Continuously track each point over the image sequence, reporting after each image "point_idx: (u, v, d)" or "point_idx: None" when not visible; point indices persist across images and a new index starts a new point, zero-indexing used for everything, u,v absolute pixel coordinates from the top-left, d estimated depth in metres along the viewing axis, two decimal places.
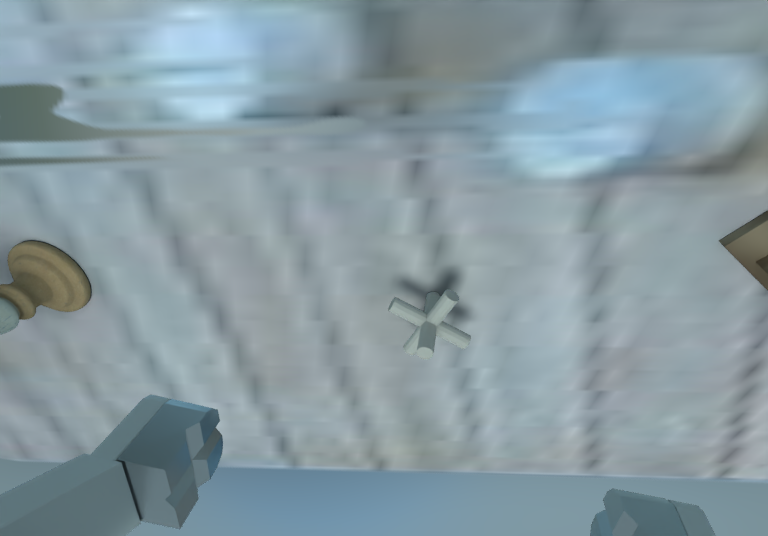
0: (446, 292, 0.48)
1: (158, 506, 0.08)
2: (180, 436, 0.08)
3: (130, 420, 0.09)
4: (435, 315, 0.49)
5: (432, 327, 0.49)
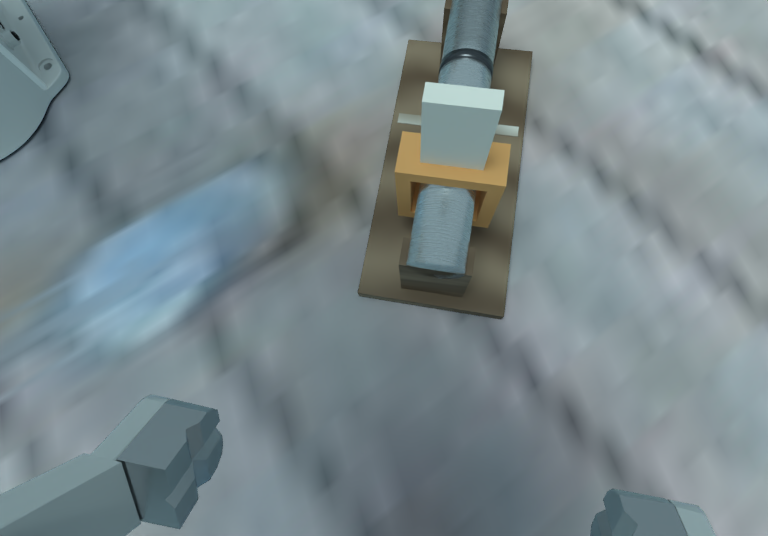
0: None
1: (157, 507, 0.08)
2: (180, 436, 0.08)
3: (130, 420, 0.09)
4: None
5: None
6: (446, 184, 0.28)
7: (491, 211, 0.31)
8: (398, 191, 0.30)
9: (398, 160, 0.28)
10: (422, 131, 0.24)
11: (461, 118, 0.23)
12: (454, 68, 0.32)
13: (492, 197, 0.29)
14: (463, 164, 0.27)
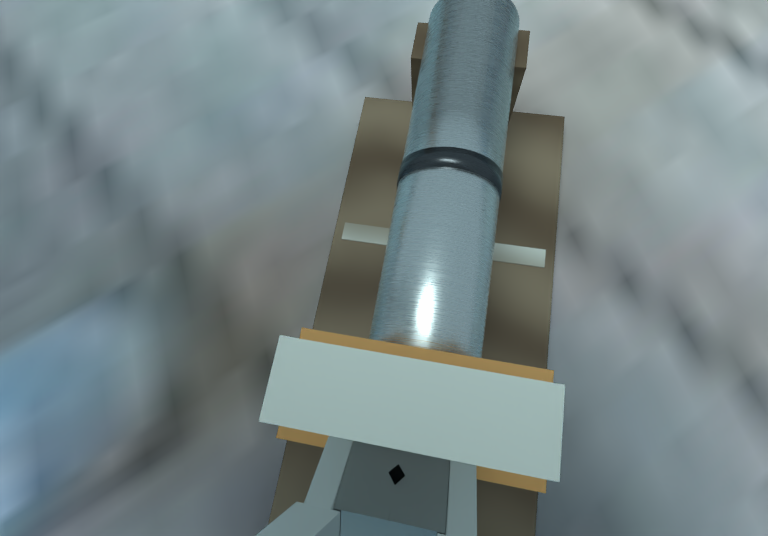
0: None
1: None
2: (386, 480, 0.08)
3: (327, 462, 0.08)
4: None
5: None
6: None
7: None
8: None
9: None
10: None
11: None
12: (423, 188, 0.15)
13: None
14: None
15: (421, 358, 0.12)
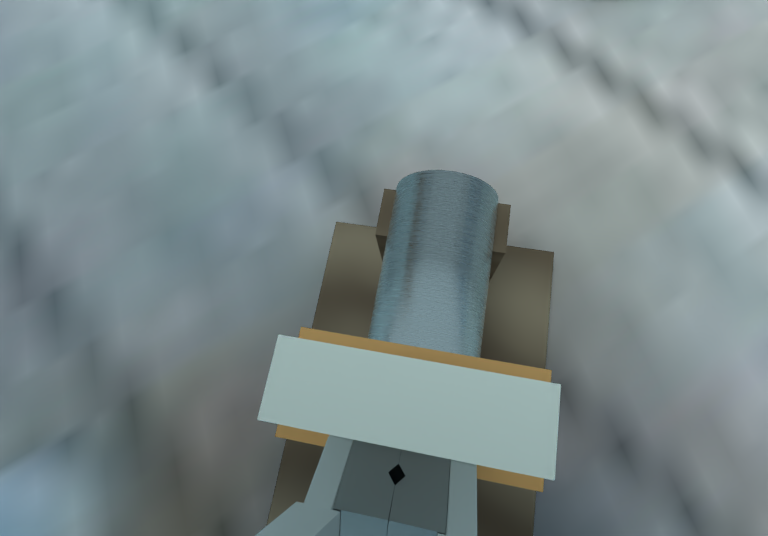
0: None
1: None
2: (385, 480, 0.08)
3: (327, 462, 0.08)
4: None
5: None
6: None
7: None
8: None
9: None
10: None
11: None
12: None
13: None
14: None
15: (419, 357, 0.12)
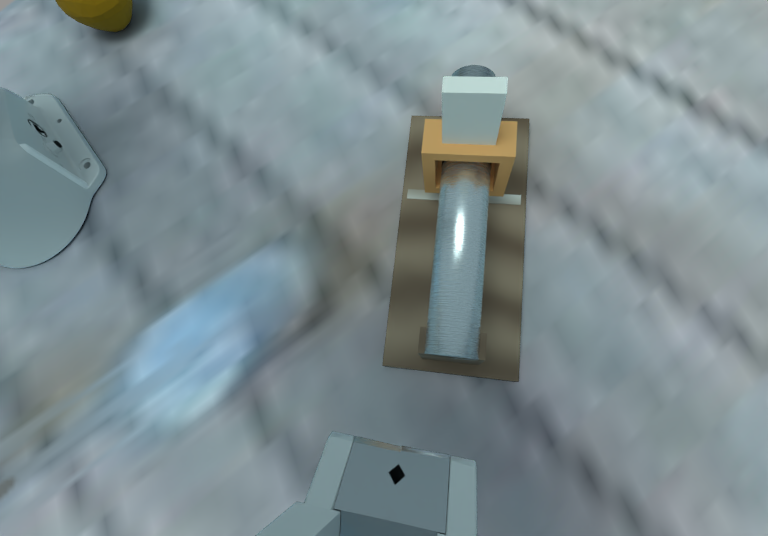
0: None
1: None
2: (386, 480, 0.08)
3: (327, 462, 0.08)
4: None
5: None
6: (465, 160, 0.33)
7: (505, 180, 0.36)
8: (424, 170, 0.36)
9: (423, 143, 0.33)
10: (443, 116, 0.30)
11: (474, 103, 0.28)
12: (455, 165, 0.34)
13: (505, 167, 0.34)
14: (478, 141, 0.32)
15: None
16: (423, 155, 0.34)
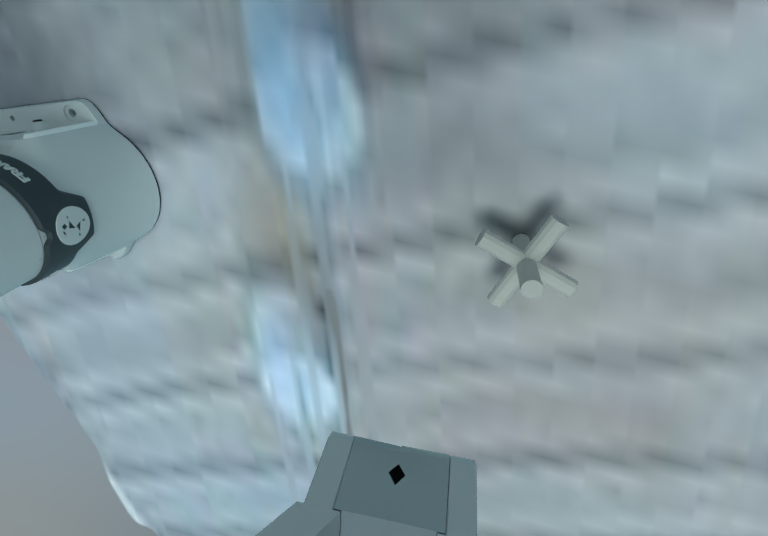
0: (476, 243, 0.41)
1: None
2: (386, 480, 0.08)
3: (327, 462, 0.08)
4: (505, 258, 0.40)
5: (519, 265, 0.39)
6: None
7: None
8: None
9: None
10: None
11: None
12: None
13: None
14: None
15: None
16: None
